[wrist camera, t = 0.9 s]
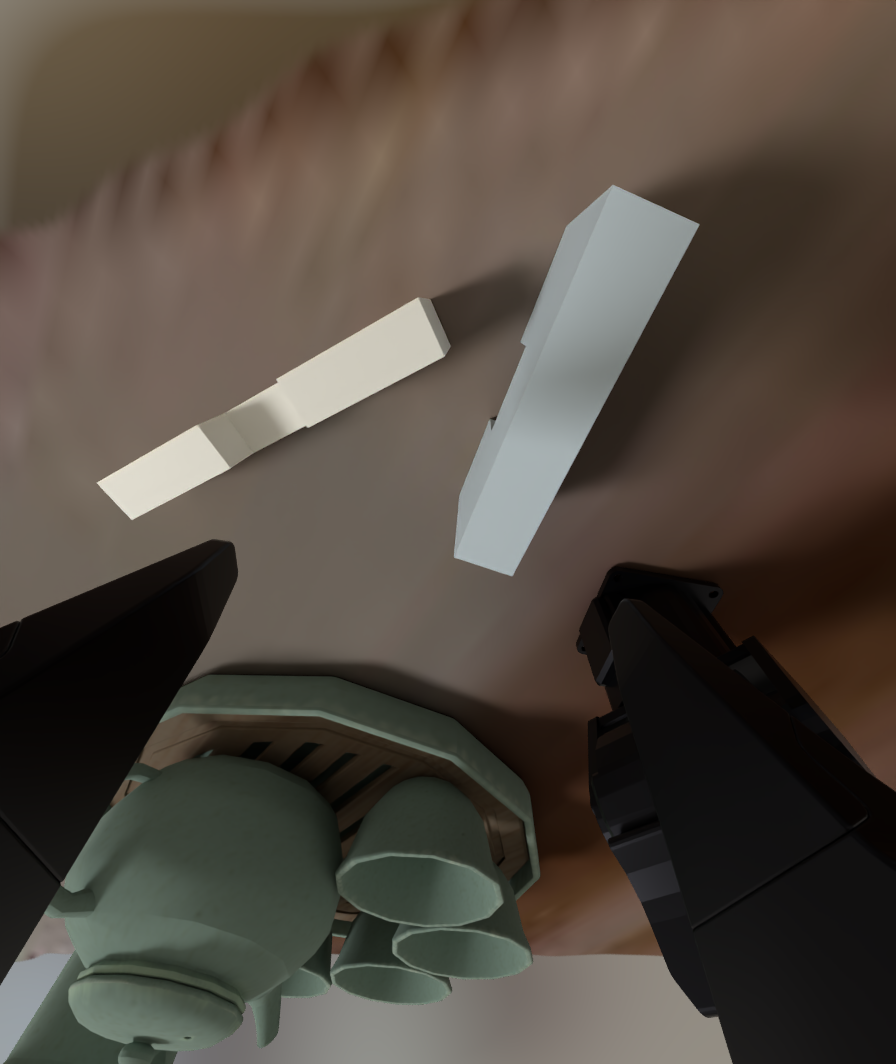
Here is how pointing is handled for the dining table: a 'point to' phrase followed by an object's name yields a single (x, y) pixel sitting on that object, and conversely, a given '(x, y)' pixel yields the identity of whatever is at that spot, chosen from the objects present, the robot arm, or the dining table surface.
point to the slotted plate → (567, 368)
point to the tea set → (284, 870)
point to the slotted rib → (284, 407)
